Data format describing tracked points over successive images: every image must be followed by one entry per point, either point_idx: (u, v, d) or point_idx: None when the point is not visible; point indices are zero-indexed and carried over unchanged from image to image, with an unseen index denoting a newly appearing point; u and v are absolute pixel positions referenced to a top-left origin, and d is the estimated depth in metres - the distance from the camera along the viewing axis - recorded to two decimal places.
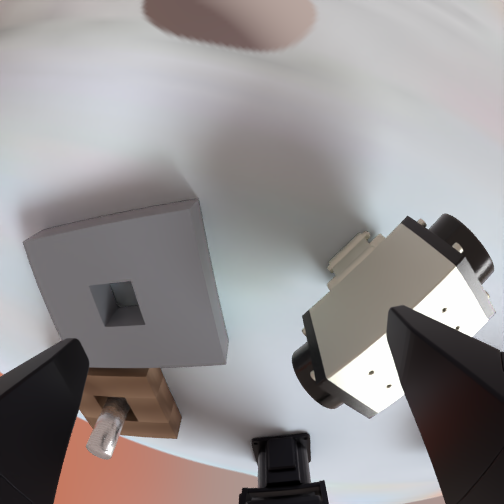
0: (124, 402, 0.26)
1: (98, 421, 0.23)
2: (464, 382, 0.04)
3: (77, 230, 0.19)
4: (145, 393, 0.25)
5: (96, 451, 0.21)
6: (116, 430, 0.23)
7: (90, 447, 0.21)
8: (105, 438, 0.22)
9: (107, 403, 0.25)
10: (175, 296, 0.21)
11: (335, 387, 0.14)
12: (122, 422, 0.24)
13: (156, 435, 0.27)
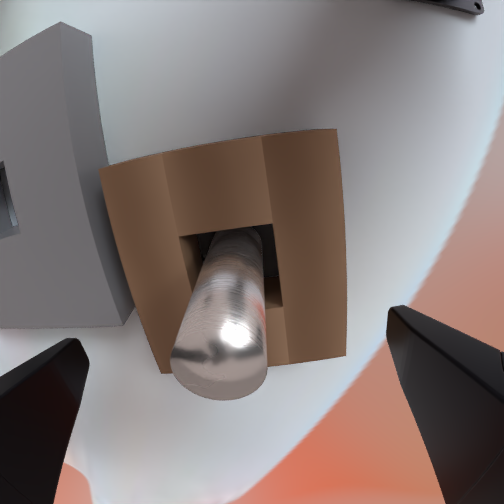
0: (214, 245, 0.13)
1: None
2: (464, 382, 0.04)
3: None
4: (149, 179, 0.11)
5: (223, 376, 0.08)
6: (212, 280, 0.09)
7: (202, 385, 0.08)
8: (184, 319, 0.08)
9: None
10: None
11: None
12: (224, 261, 0.11)
13: (331, 186, 0.11)
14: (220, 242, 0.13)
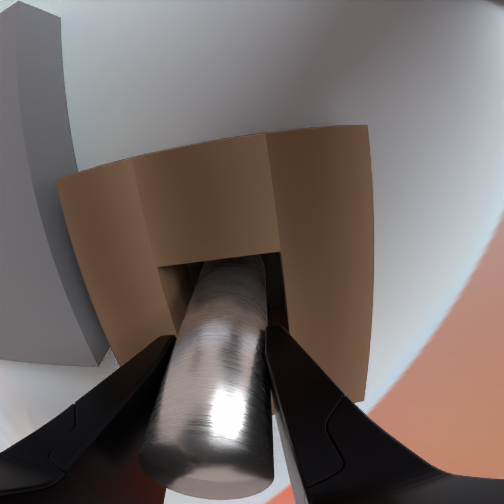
0: (204, 278, 0.10)
1: None
2: (283, 423, 0.04)
3: None
4: (116, 192, 0.08)
5: (212, 481, 0.05)
6: (196, 341, 0.07)
7: (185, 486, 0.05)
8: (157, 404, 0.05)
9: None
10: None
11: None
12: (215, 307, 0.08)
13: (359, 202, 0.08)
14: (211, 273, 0.10)
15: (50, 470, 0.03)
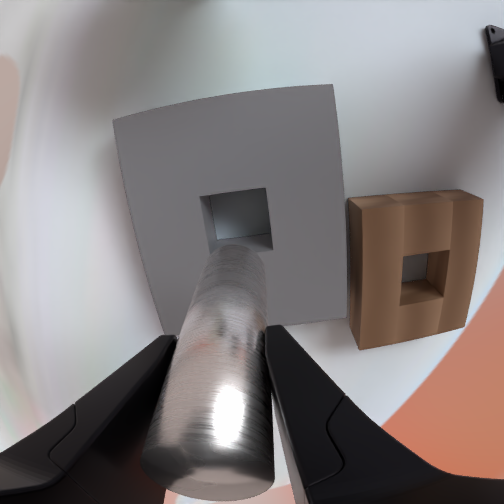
0: (205, 280, 0.10)
1: None
2: (283, 423, 0.04)
3: (142, 257, 0.18)
4: (394, 220, 0.17)
5: (212, 483, 0.05)
6: (197, 343, 0.07)
7: (187, 488, 0.05)
8: (158, 406, 0.05)
9: None
10: (217, 138, 0.16)
11: None
12: (216, 310, 0.08)
13: (477, 230, 0.17)
14: (212, 275, 0.10)
15: (50, 470, 0.03)
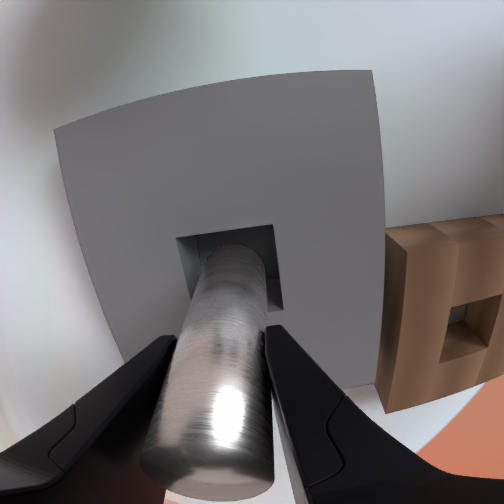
0: (205, 280, 0.10)
1: None
2: (283, 423, 0.04)
3: (106, 315, 0.13)
4: (446, 263, 0.12)
5: (212, 484, 0.05)
6: (197, 343, 0.07)
7: (187, 488, 0.05)
8: (157, 407, 0.05)
9: None
10: (200, 150, 0.10)
11: None
12: (216, 310, 0.08)
13: None
14: (212, 275, 0.10)
15: (50, 470, 0.03)
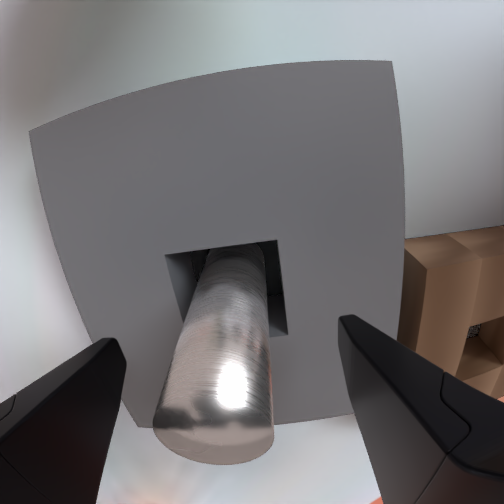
0: (209, 266, 0.11)
1: None
2: (395, 403, 0.04)
3: (91, 337, 0.11)
4: (467, 280, 0.10)
5: (218, 443, 0.06)
6: (204, 318, 0.07)
7: (194, 451, 0.06)
8: (169, 373, 0.06)
9: None
10: (191, 153, 0.09)
11: None
12: (220, 290, 0.09)
13: None
14: (216, 262, 0.11)
15: None
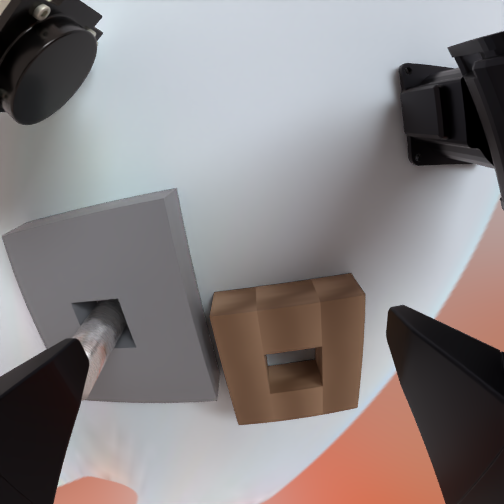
0: (93, 309, 0.18)
1: None
2: (464, 382, 0.04)
3: (44, 342, 0.19)
4: (247, 324, 0.18)
5: None
6: (75, 336, 0.15)
7: None
8: None
9: None
10: (73, 256, 0.16)
11: None
12: (87, 324, 0.16)
13: (358, 325, 0.18)
14: (96, 307, 0.18)
15: None
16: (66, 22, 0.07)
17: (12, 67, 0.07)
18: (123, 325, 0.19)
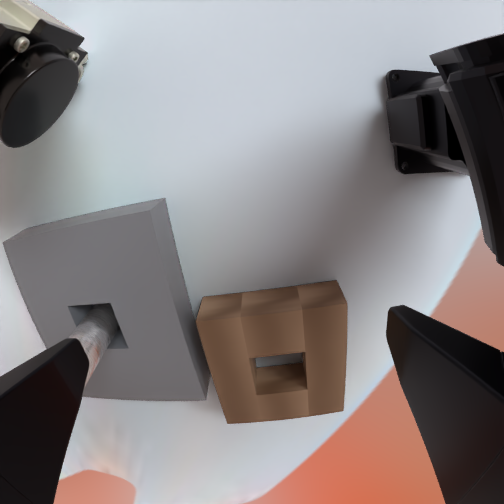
0: None
1: None
2: (464, 382, 0.04)
3: (44, 342, 0.20)
4: (231, 329, 0.19)
5: None
6: None
7: None
8: None
9: None
10: (69, 263, 0.17)
11: None
12: (82, 326, 0.17)
13: (340, 332, 0.19)
14: (91, 310, 0.19)
15: None
16: (46, 51, 0.08)
17: None
18: (116, 327, 0.20)
